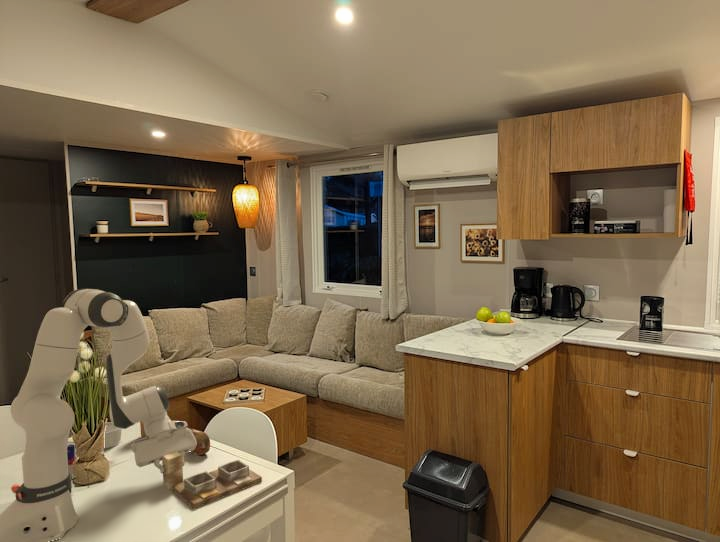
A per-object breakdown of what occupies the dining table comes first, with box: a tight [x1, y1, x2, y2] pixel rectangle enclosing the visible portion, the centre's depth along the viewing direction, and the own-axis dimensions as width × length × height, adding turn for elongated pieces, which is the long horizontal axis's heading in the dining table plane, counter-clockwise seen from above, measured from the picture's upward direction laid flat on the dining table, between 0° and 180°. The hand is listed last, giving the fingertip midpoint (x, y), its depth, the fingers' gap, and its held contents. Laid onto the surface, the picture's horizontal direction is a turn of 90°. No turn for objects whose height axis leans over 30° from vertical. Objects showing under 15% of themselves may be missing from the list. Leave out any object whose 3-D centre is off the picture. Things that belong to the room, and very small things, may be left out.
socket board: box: [171, 459, 263, 509], centre depth 168 cm, size 24×16×4 cm, turn 133°
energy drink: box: [67, 440, 78, 481], centre depth 176 cm, size 5×5×12 cm
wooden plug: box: [161, 452, 184, 490], centre depth 170 cm, size 5×5×10 cm
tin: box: [189, 428, 211, 456], centre depth 195 cm, size 15×3×8 cm, turn 55°
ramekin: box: [104, 421, 123, 450], centre depth 205 cm, size 13×13×7 cm
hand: (173, 469), depth 169 cm, fingers closed on wooden plug, 5 cm apart
